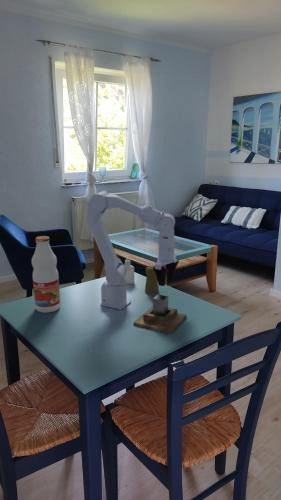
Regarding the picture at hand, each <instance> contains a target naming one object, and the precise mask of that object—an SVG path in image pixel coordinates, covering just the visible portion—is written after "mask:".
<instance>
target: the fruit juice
mask: <svg viewBox="0 0 281 500" xmlns="http://www.w3.org/2000/svg"><path fill="white" fill-rule="evenodd" d="M35 243H36V245H35V251H34V253H33V255H32V257H31V265H32V268H33V269H32V270H33V271H32V285H33V296H34V297H33V298H34V305H35V309H36V311H37V312H39V313H45V314H46V313H52V312H56V311H58V310H59V309H60V308H61V291H60V280H59V279H60V278H59V271H58V269H57V263H58V259H57V256H56V254H55V253H54V252H53V250H52V247H51V245H50V237H49V236H47V235H39V236H37V237H35Z"/></svg>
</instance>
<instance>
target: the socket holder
mask: <svg viewBox="0 0 281 500" xmlns="http://www.w3.org/2000/svg"><path fill="white" fill-rule="evenodd" d="M186 318H187V314H186V313H181V312H178V309H177V308H172V307H168V314H167V315H166V316H165V317H163V316H158V315H154V314H153V306H151V307H149V309H147V310H146V311H145V312H144V313H143V314H141V315H140V317H138V318H137V319H136V320H135V321H133V326H137V327H142V328H144V329H145V328H146V329H150V330H154V331H157V332H160V333H161V332H162V333H166V334H168V335H169V334H170V335H171V334H172V333H173V332H174V331H175V330H176V329H177V328H178V327H179V326H180V324H181V323H182V322H183V321H184V320H185V319H186Z"/></svg>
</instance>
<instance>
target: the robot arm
mask: <svg viewBox="0 0 281 500" xmlns="http://www.w3.org/2000/svg"><path fill="white" fill-rule="evenodd" d="M86 205H87V209H86V210H87V211H86V222H87V224H88V226H89V229H90V231H91V234H92V236H93V239H94V241H95V243H96V245H97V248H98V251H99V253H100V255H101V257H102V260H103V262H104V271H105V281H103V283H102V285H101V289H100V293H101V294H100V295H101V296H100V297H101V298H100V299H101V303H100V306H103V307H108V308H111V309H116V310H119V311H121V310H123V309H124V308H125V307H127V306H128V305H130V304H131V302H132V301H131V300H128V299H127V284H126V280H125V278H124V277H125V276H126V274H127V268H126V267H125V264H124V263H123V262H122V260H121V259H120V258H119V257H118V255H117V253H116V251H115V248H114V246H113V244H112V241H111V238H110V237H109V234H108V232H107V229H106V227H105V225H104V222H103V219H102V218H103V216H104V214H105V213H106V210H111V209H116V208H118V209H120V210H123V211H125V212H128V213H130V214H134V215H136V216H137V217H138V219H139V221H141V222H144V223H146V224H148V225H151V226H153V227H155V228H156V227H157V228H158V258H157V260H156V263H155V265H153V266H154V267H153V271H154V272H155V274H156V276H157V281H158V286H162V287H164V286H165V285H166V280H167V279H168V280H173V279H174V277H175V274H176V273H175V272H176V269H177V267H178V265H179V263H180V261H179V260H178V259H177V253H175V224H176V219H175V217H174V216H173V214H171V213H170V212H165V211H163V210H162V211H160V210H159V209H156V208H153V205H150V204H149V205H143V206H141V205H139V204H137V203H136V204H135V202H131V200H128V199H126V198H124V197H121V196H119V195H117V194H115V193H112V192H109V191H107V190H100V191H99V192H97V193H94V194H92V195H91V196H90V198H89V200H88V202H87V204H86Z"/></svg>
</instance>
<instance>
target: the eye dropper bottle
mask: <svg viewBox="0 0 281 500" xmlns="http://www.w3.org/2000/svg"><path fill="white" fill-rule="evenodd" d="M124 265H125V267H126V268H127V274H126V276H125V277H124V278H125V280H126V285H134V284H135V266H133V265H131V259H130V258H129V257H128V256H127V257H126V259H125V261H124Z"/></svg>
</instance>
